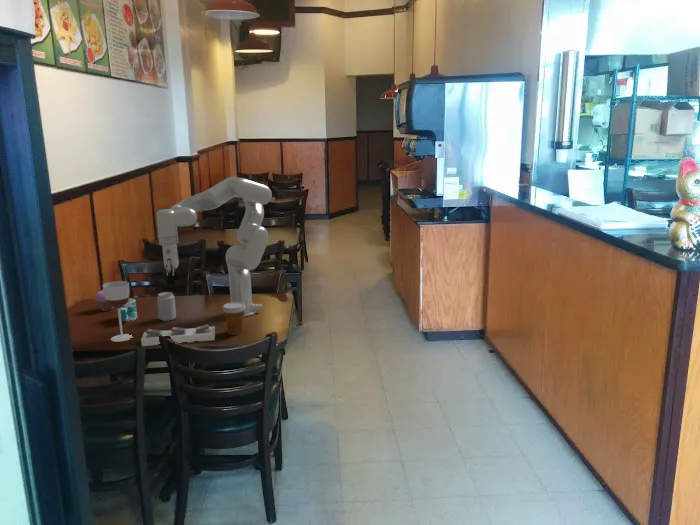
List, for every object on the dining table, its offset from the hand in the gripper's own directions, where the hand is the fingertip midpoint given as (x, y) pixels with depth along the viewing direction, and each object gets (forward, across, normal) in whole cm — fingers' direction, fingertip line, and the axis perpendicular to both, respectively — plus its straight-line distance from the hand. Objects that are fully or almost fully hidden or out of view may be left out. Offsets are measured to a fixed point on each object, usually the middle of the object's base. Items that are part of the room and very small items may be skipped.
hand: (172, 281), depth 237 cm
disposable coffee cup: (+22, -7, -24) cm, 33 cm away
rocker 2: (+17, -11, -11) cm, 23 cm away
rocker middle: (+17, -11, -2) cm, 21 cm away
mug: (+22, +21, +24) cm, 39 cm away
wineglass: (+22, -2, +22) cm, 31 cm away
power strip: (+22, -10, -2) cm, 24 cm away
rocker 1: (+17, -11, +8) cm, 22 cm away
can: (+22, +18, +6) cm, 29 cm away
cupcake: (+22, +39, +36) cm, 57 cm away
